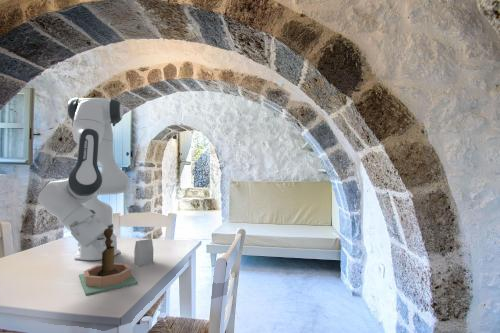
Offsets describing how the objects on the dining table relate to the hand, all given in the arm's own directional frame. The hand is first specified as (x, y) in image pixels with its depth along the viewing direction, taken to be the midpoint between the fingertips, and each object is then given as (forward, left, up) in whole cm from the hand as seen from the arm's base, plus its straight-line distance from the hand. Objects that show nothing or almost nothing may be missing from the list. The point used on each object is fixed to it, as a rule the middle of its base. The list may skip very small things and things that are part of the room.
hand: (108, 246), depth 104 cm
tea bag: (-11, +16, -12) cm, 23 cm away
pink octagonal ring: (0, 0, -12) cm, 12 cm away
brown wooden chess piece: (0, 0, -12) cm, 12 cm away
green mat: (0, 0, -12) cm, 12 cm away
